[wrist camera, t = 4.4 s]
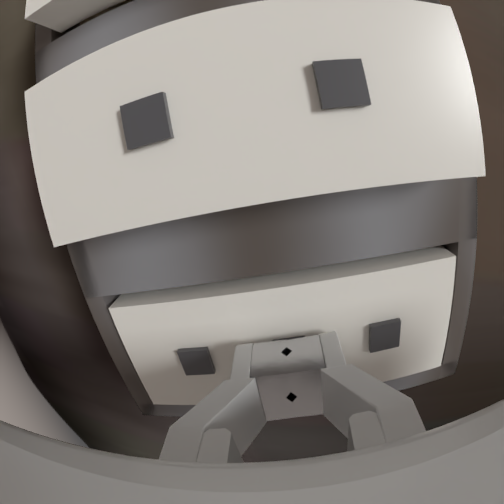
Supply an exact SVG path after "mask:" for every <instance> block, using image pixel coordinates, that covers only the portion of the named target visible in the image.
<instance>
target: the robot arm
mask: <svg viewBox="0 0 504 504" xmlns="http://www.w3.org/2000/svg"><path fill="white" fill-rule="evenodd" d="M320 414H324V416H325V417H326V418H327V419H328V420H329V421H330V422H331V423H332V424H333V425H334V426H335V427H336V428H337V429H338V430H339V431H340V432H341V433H343V434H344V435H345V436H346V437H347V438H348V443H347V452H343V453H337V454H331V455H325V456H318V457H311V458H303V459H294V460H284V461H271V462H253V463H244V462H243V459H242V457H241V456H242V455H243V453H244V452H245V451H246V449H247V448H248V447H249V446H250V444H251V443H252V442H253V440H254V439H255V438H256V436H257V435H258V433H259V432H260V431H261V429H262V428H263V427H264V425H265V424H266V421H270V420H279V419H286V418H293V417H303V416H312V415H320ZM0 504H504V399H503V400H501V401H499V402H497V403H495V404H493V405H490V406H488V407H486V408H484V409H482V410H480V411H477V412H475V413H473V414H470V415H468V416H466V417H463V418H461V419H458V420H456V421H453V422H451V423H448V424H445V425H443V426H440V427H437V428H434V429H431V430H428V431H426V430H425V427H424V425H423V423H422V420H421V418H420V416H419V413H418V411H417V409H416V407H415V404H414V402H413V400H412V399H411V398H410V397H408V396H406V395H404V394H403V393H401V392H399V391H397V390H396V389H394V388H392V387H390V386H389V385H387V384H385V383H383V382H382V381H380V380H378V379H376V378H375V377H373V376H371V375H370V374H368V373H366V372H365V371H363V370H361V369H359V368H358V367H356V366H354V365H353V364H346V361H345V358H344V355H343V351H342V348H341V345H340V342H339V339H338V335H337V332H335V331H332V332H327V333H322V334H319V335H314V336H308V337H302V338H295V339H289V340H278V341H269V342H259V343H254V344H253V343H249V344H240V345H237V346H236V347H235V352H234V358H233V363H232V369H231V374H230V380H224V381H223V382H222V383H221V384H220V385H219V386H217V387H216V388H215V389H214V390H213V391H212V392H211V393H209V394H208V395H207V396H206V397H205V398H204V399H203V400H201V401H200V402H199V403H198V404H197V405H195V406H194V407H193V408H192V409H191V410H190V411H188V412H187V413H186V414H185V415H183V416H182V417H181V418H180V419H179V420H177V421H176V422H175V423H174V424H173V425H171V426H170V428H169V431H168V433H167V436H166V439H165V442H164V445H163V448H162V451H161V454H160V457H159V460H158V459H150V458H142V457H134V456H128V455H122V454H116V453H110V452H105V451H100V450H95V449H91V448H86V447H82V446H78V445H74V444H70V443H66V442H63V441H59V440H55V439H52V438H49V437H45V436H42V435H39V434H36V433H33V432H30V431H27V430H24V429H21V428H19V427H16V426H13V425H11V424H8V423H6V422H3V421H0Z"/></svg>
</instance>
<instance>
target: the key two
mask: <svg viewBox="0 0 504 504" xmlns="http://www.w3.org/2000/svg"><path fill="white" fill-rule="evenodd" d="M24 93H25V106H26V117H27V126H28V134H29V141H30V148H31V154H32V160H33V165H34V171H35V176H36V180H37V185H38V190H39V194H40V198H41V203H42V207H43V211H44V214H45V218H46V222H47V225H48V229H49V232H50V236H51V239H52V242H53V246H54V247H57V246H61V245H65V244H69V243H73V242H77V241H81V240H85V239H90V238H94V237H98V236H102V235H107V234H111V233H115V232H120V231H124V230H129V229H133V228H138V227H143V226H147V225H152V224H157V223H162V222H166V221H171V220H176V219H181V218H186V217H191V216H197V215H202V214H207V213H212V212H218V211H223V210H229V209H234V208H240V207H245V206H251V205H257V204H263V203H269V202H275V201H281V200H287V199H294V198H300V197H307V196H313V195H320V194H327V193H334V192H341V191H348V190H356V189H364V188H371V187H380V186H388V185H396V184H405V183H414V182H424V181H434V180H444V179H455V178H467V177H479V176H485V160H484V149H483V139H482V131H481V123H480V116H479V110H478V104H477V99H476V94H475V89H474V84H473V79H472V75H471V71H470V67H469V63H468V59H467V55H466V52H465V48H464V45H463V41H462V38H461V35H460V32H459V29H458V26H457V23H456V20H455V17H454V15H453V12H452V9H451V7H450V6H445V5H440V4H435V3H429V2H423V1H416V0H264V1H257V2H251V3H245V4H239V5H234V6H229V7H224V8H220V9H215V10H211V11H207V12H203V13H199V14H195V15H191V16H188V17H184V18H181V19H178V20H174V21H171V22H168V23H165V24H162V25H159V26H156V27H153V28H150V29H147V30H145V31H142V32H139V33H137V34H134V35H132V36H129V37H127V38H124V39H122V40H119V41H117V42H115V43H112V44H110V45H108V46H106V47H103V48H101V49H99V50H97V51H95V52H93V53H91V54H89V55H87V56H85V57H83V58H81V59H79V60H77V61H75V62H73V63H71V64H70V65H68V66H66V67H64V68H62V69H61V70H59V71H57V72H55V73H54V74H52V75H50V76H49V77H47V78H45V79H44V80H42V81H40V82H39V83H37V84H36V85H34V86H33V87H31V88H30V89H28V90H27V91H25V92H24Z"/></svg>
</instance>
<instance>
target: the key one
mask: <svg viewBox="0 0 504 504" xmlns="http://www.w3.org/2000/svg"><path fill="white" fill-rule="evenodd" d="M123 1H125V0H27V1H26V11H25V19H26V20H29V21H32V22H34V23H37V24H40V25H42V26H45V27H48V28H50V29H53V30H55V31H58V32H60V33H62V32H63V31H65V30H67V29H69V28H70V27H72V26H74V25H76V24H77V23H79V22H81V21H83V20H85V19H87V18H89V17H91V16H93V15H95V14H97V13H99V12H101V11H103V10H105V9H107V8H109V7H111V6H114V5H116V4H118V3H121V2H123Z"/></svg>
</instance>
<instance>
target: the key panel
mask: <svg viewBox="0 0 504 504" xmlns="http://www.w3.org/2000/svg"><path fill="white" fill-rule="evenodd" d="M257 1H264V0H125V1H123V2H121V3H118V4H116V5H114V6H111V7H109V8H107V9H105V10H103V11H101V12H99V13H97V14H95V15H93V16H91V17H89V18H87V19H85V20H83V21H81V22H79V23H77V24H76V25H74V26H72V27H70V28H69V29H67V30H65V31H63V32H62V33H60V32H58V31H55V30H53V29H50V28H48V27H45V26H42V25H40V24H37V23H36V26H35V72H36V84H37V83H39V82H40V81H42V80H44V79H45V78H47V77H49V76H50V75H52V74H54V73H55V72H57V71H59V70H61V69H62V68H64V67H66V66H68V65H70V64H71V63H73V62H75V61H77V60H79V59H81V58H83V57H85V56H87V55H89V54H91V53H93V52H95V51H97V50H99V49H101V48H103V47H106V46H108V45H110V44H112V43H115V42H117V41H119V40H122V39H124V38H127V37H129V36H132V35H134V34H137V33H139V32H142V31H145V30H147V29H150V28H153V27H156V26H159V25H162V24H165V23H168V22H171V21H174V20H178V19H181V18H184V17H188V16H191V15H195V14H199V13H203V12H207V11H211V10H215V9H220V8H224V7H229V6H234V5H239V4H245V3H251V2H257ZM416 1H423V2H429V3H435V4H440V2H439V0H416ZM440 5H441V4H440ZM476 240H477V177H467V178H455V179H444V180H434V181H424V182H414V183H405V184H396V185H388V186H380V187H371V188H364V189H356V190H348V191H341V192H334V193H327V194H320V195H313V196H307V197H300V198H294V199H287V200H281V201H275V202H269V203H263V204H257V205H251V206H245V207H240V208H234V209H229V210H223V211H218V212H212V213H207V214H202V215H197V216H191V217H186V218H181V219H176V220H171V221H166V222H162V223H157V224H152V225H147V226H143V227H138V228H133V229H129V230H124V231H120V232H115V233H111V234H107V235H102V236H98V237H94V238H90V239H85V240H81V241H77V242H73V243H69V244H66V245H67V248H68V251H69V254H70V257H71V260H72V263H73V266H74V269H75V272H76V275H77V278H78V280H79V283H80V286H81V288H82V291H83V294H84V296H85V299H86V301H87V304H88V306H89V309H90V311H91V313H92V316H93V318H94V321H95V323H96V325H97V327H98V330H99V332H100V334H101V336H102V338H103V341H104V343H105V345H106V347H107V349H108V351H109V353H110V355H111V357H112V359H113V361H114V363H115V365H116V367H117V369H118V371H119V373H120V375H121V377H122V379H123V381H124V382H125V384H126V386H127V388H128V390H129V392H130V393H131V395H132V397H133V399H134V400H135V402H136V404H137V406H138V407H139V409H140V411H141V412H142V414H143V415H153V416H181V417H182V416H183V415H185V414H186V413H187V412H188V411H190V410H191V409H192V408H193V407H194V406H195V405H159V404H153V402H152V401H151V399H150V397H149V395H148V393H147V391H146V389H145V387H144V385H143V384H142V382H141V380H140V378H139V376H138V374H137V372H136V370H135V368H134V366H133V363H132V361H131V359H130V357H129V355H128V353H127V351H126V349H125V346H124V344H123V342H122V340H121V337H120V335H119V333H118V330H117V328H116V326H115V323H114V321H113V319H112V316H111V314H110V311H109V309H108V308H109V307H110V306H111V305H112V304H113V303H114V302H115V300H116V299H117V298H118V297H119V296H120V295H121V294H126V293H135V292H143V291H151V290H159V289H166V288H174V287H182V286H189V285H196V284H204V283H211V282H218V281H225V280H232V279H239V278H246V277H253V276H260V275H266V274H273V273H280V272H286V271H293V270H299V269H305V268H312V267H318V266H324V265H330V264H336V263H343V262H349V261H355V260H360V259H366V258H372V257H378V256H384V255H389V254H395V253H401V252H406V251H412V250H417V249H423V248H428V247H434V246H439V245H441V246H443V247H444V248H445V249H447V250H448V251H450V252H451V253H453V254H454V255H456V266H455V278H454V288H453V297H452V305H451V313H450V319H449V326H448V332H447V337H446V343H445V348H444V353H443V358H442V362H441V366H439V367H436V368H433V369H430V370H426V371H423V372H419V373H416V374H412V375H409V376H405V377H401V378H397V379H393V380H389V381H385V382H383V383H385V384H387V385H389V386H390V387H392V388H394V389H396V390H397V391H400V390H403V389H407V388H411V387H414V386H418V385H421V384H424V383H428V382H431V381H434V380H437V379H440V378H443V377H446V376H449V375H452V374H455V371H456V367H457V363H458V359H459V355H460V351H461V347H462V343H463V338H464V333H465V328H466V323H467V318H468V312H469V306H470V300H471V293H472V285H473V277H474V267H475V256H476Z"/></svg>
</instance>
